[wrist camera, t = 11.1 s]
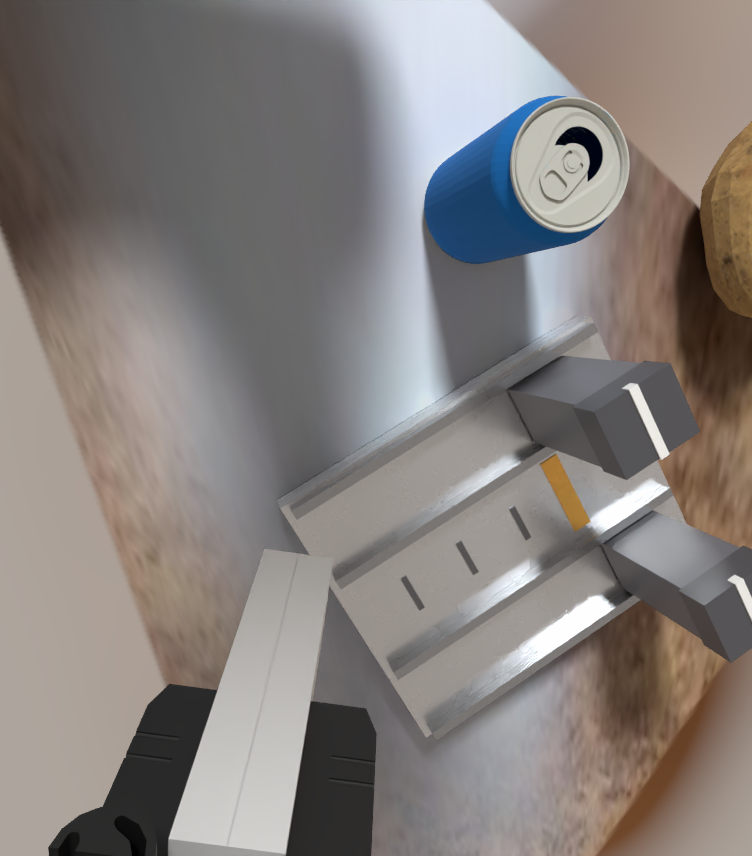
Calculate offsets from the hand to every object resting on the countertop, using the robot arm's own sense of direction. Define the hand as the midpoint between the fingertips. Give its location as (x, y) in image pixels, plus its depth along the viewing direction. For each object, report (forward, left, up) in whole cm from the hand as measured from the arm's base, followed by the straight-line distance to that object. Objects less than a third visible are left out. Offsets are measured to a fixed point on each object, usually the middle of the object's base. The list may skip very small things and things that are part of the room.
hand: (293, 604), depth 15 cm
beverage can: (-4, +18, -26) cm, 32 cm away
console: (+14, +10, -26) cm, 31 cm away
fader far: (+20, +17, -24) cm, 35 cm away
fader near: (+8, +17, -24) cm, 30 cm away
